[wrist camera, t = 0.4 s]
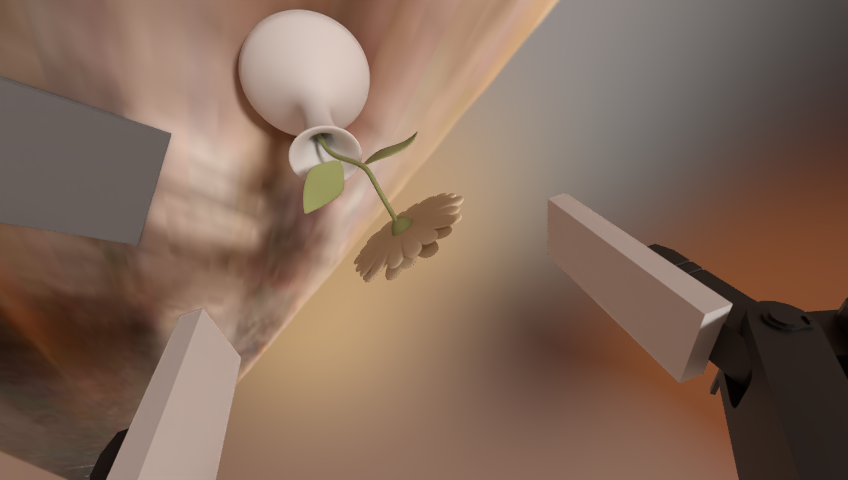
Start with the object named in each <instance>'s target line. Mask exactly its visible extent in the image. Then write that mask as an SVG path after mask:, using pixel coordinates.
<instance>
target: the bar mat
mask: <svg viewBox="0 0 848 480" xmlns="http://www.w3.org/2000/svg"><path fill="white" fill-rule="evenodd" d="M170 137H171V133H168V132H165V131H162V130H159V129H156V128H153V127H150V126H147V125H144V124H141V123H138V122H135V121H132V120H129V119H126V118H123V117H120V116H117V115H114V114H111V113H108V112H105V111H102V110H99V109H96V108H93V107H90V106H87V105H84V104H81V103H78V102H75V101H72V100H69V99H66V98H63V97H60V96H57V95H54V94H51V93H48V92H45V91H42V90H39V89H36V88H33V87H30V86H27V85H24V84H21V83H18V82H15V81H12V80H9V79H6V78H3V77H0V223H4V224H11V225H17V226H23V227H29V228H35V229H42V230H48V231H54V232H60V233H66V234H73V235H79V236H85V237H91V238H98V239H104V240H110V241H116V242H122V243H129V244H135V245H138V243H139V240H140V236H141V233H142V230H143V226H144V223H145V220H146V216H147V213H148V210H149V206H150V203H151V200H152V196H153V193H154V190H155V186H156V183H157V180H158V176H159V173H160V170H161V166H162V163H163V160H164V156H165V153H166V150H167V147H168V143H169V140H170Z"/></svg>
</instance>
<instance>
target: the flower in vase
mask: <svg viewBox="0 0 848 480" xmlns="http://www.w3.org/2000/svg"><path fill="white" fill-rule="evenodd" d="M238 65H239V77H240V82H241V85H242V88H243V91H244V93H245V95H246V97H247V99H248V101H249V102H250V104H251V105H252V106H253V108H254V109H255V110H256V111H257V112H258V113H259V114H260V115H261V116H262V117H263V118H264V119H265V120H266V121H267V122H268V123H270V124H271V125H272V126H274V127H276V128H277V129H279V130H281V131H283V132H286V133H288V134H291V135H295V136H297V137H296V138H295V140H294V141H293V143H292V144H291V147H290V150H289V163H290V166H291V168H292V170H293V171H294V172H295V174H296V175H297V176H298V177H300V178H301V179H302V180H304V181H305V183H304V190H303V205H304V212H305V214H307V213H309V212H312V211H314V210H316V209H318V208H320V207H322V206H324V205H326V204H328V203H329V202H331V201H333V200H334V199H336V198H337V197H338V196H339V195H340V194H341V193H342V191H343V189H344V181H346V180H347V179H349V178H350V177H351V176H352V175H353V174H354V173H355V172H356V171H357V169H358V168H359V167H360V168H362V169H363V170H364V171H365V172H366V173H367V175H368V176H369V178H370V180H371V182H372V184H373V185H374V187H375V189H376V191H377V193H378V195H379V196H380V198H381V200H382V202H383V203H384V205H385V207H386V209H387V210H388V212H389V213H390V216H391V217H392V219H393V220H392V221H390V222H388V223H387V224H386V225H385V226H384V227H383V228H382V229H381V230H380V231H379V232H377V233H376V234H374V235H373V236H372V237H371V238H370V239H369V240H368V242H367V245H366V246H365V247H364V248H363V249H362V250H361V252H360V254H359V255H358V257H357V258H356V260H355V261H354V264H357V263H359V264H358V265H357V268H356V272H358V271H361V272H360V276H361V277H362V276H363V279H364V280H365V282H370V281H371V280H372V279H373V278H375V276H376V275H377V274H378V273H379V272H380V271H381V270H382V269H383V268H384V267H385V265H386V264H387V265H388V266H387V269H386V279H387V280H392V279H394V278H396V277H397V275H398V274H399V273H400V272H401V270H402V268H404V269H406V268H409V267H411V266H412V265H414V263H415V262H416V259H417V255H418V256H420V257H423V258H428V257H431V256H433V255H434V254H435V253H436V252H437V251H438V244H437V243H436V241H435V240H436V239H441V238H444V237H446V236H448V235H449V234H450V233H451V231H452V228H451V227H450V226H452V225H454V224H456V223H457V222H459V221H460V220H461V218H462V215H460V214H456V213H457V212H458V211H459V210H460V207H459V205H460V204H462V202H463V200H464V197H462V196H459V197H456V194H454V193H453V194H447V193H442V194H439V195H437V196H435V197H434V196H433V197H429V198H427V199H425V200H424V201H422V202H421V203H420V204H415V205H413V206H412V207H410V208H409V209H408V210H407V211H406V212H402V213H400V214H399V215H397V216H396V215H395V213H394V211H393V209H392V208H391V206H390V204H389V202H388V201H387V199H386V197H385V195H384V194H383V192H382V190H381V188H380V187H379V185H378V183H377V181H376V179H375V177H374V176H373V174H372V172H371V171H370V169H369V168H368V167H367V166H366V165H365V164H369V163H372V162H374V161H377V160H380V159H382V158H385V157H388V156H391V155H393V154H396V153H398V152H400V151H402V150H403V149H405V148H407V147H408V146H409V145H410V144H411V143H412V142H413V140H414V139H415V137H416V135H417V132H418V131H417V132H416V133H415V134H414V135H413V136H412V137H410V138H409V139H407V140H406V141H404V142H402V143H399V144H396V145H393V146H390V147H387V148H384V149H381V150H379V151H378V152H376V153H374V154H373V155H372V156H371V157H370V158H369V159H368V160H367V161H366V162H365V163H364V164H363V163H361V159H362V151H361V147H360V145H359V143H358V141H357V140H356V139H355V137H354V136H353V135H351V134H350V133H349V132H347V131H346V130H344V128H345V127H347V126H348V125H349V124H351V123H352V122H353V121H354V120H355V119H356V118H357V116H358V115H359V113H360V112H361V110H362V108H363V107H364V104H365V102H366V99H367V96H368V92H369V87H370V72H369V66H368V62H367V59H366V56H365V54H364V52H363V50H362V48H361V46H360V44H359V43H358V41H357V40H356V39H355V37H354V36H353V35H352V34H351V33H350V32H349V31H348V30H347V29H346V28H345V27H344V26H342V25H341V24H340V23H338V22H337V21H335V20H333V19H332V18H330V17H328V16H325V15H323V14H320V13H317V12H313V11H308V10H287V11H282V12H279V13H276V14H273V15H271V16H269V17H267V18H265V19H263V20H262V21H261V22H259V23H258V24H257V25H256V26H255V27H254V28H253V29H252V30H251V31H250V33H249V34H248V36H247V37H246V39H245V41H244V43H243V45H242V48H241V51H240V55H239V63H238Z"/></svg>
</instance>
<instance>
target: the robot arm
mask: <svg viewBox="0 0 848 480" xmlns="http://www.w3.org/2000/svg"><path fill="white" fill-rule="evenodd" d="M547 232H548V235H547V236H548V237H547V255H549V257H551V258H552V259H553V260H554V261H555V262H556V263H557V264H558V265H559V266H560V267H561V268H562V269H563V270H564V271H565V272H566V273H567V274H568V275H569V276H570V277H571V278H572V279H573V280H574V281H575V282H576V283H577V284H578V285H579V286H580V287H581V288H582V289H583V290H584V291H585V292H586V293H588V295H589V296H591V297H592V298H593V299H594V300H595V301H596V302H597V303H598V304H599V305H600V306H601V307H602V308H603V309H604V310H605V311H606V312H607V313H608V314H609V315H610V316H611V317H612V318H613V319H614V320H615V321H616V322H617V323H618V324H619V325H621V327H622V328H623V329H624V330H625V331H626V332H628V333H629V334H630V335H631V336H632V337H633V338H634V339H635V340H636V341H637V342H638V343H639V344H640V345H641V346H642V347H643V348H644V349H645V350H646V351H647V352H648V353H649V354H650V355H651V356H652V357H653V358H654V359H655V360H656V361H657V362H658V363H659V364H660V365H661V366H662V367H664V369H665V370H666V371H668V372H669V373H670V374H671V375H672V376H673V377H674V378H675V379H676V380H677V381H678V382H679V383H681V382H684V381H686V380H689V379H691V378H694V377H696V376H699V375H701V374H703V373H704V370H705V368H706V366H707V363H708V361H709V360H710V361H711V362H712V363H714V364H715V365H716V366H717V367H718V368H719V370H718V373H717V375H716V377H715V379H714V381H713V383H712V386H711V390H710V394H714V395H715V394H716V392H717V390H718V388H719V386H720V391H721V396H722V401H723V406H724V410H725V415H726V420H727V425H728V430H729V434H730V439H731V444H732V449H733V453H734V459H735V463H736V468H737V473H738V477H739V480H848V298H847V299H846V300H845V301H844V303H843V304H842V306H841V307H840V309H839V310H828V311H813V312H804V311H803V310H801V309H798V308H796V307H794V306H791V305H788V304H785V303H780V302H776V301H760V302H757V301H755V300H753V299H751V298H750V297H748V296H747V295H745V294H743V293H742V292H740V291H739V290H737V289H735V288H734V287H732V286H731V285H729V284H727V283H726V282H724V281H722V280H721V279H719V278H718V277H716V276H715V275H713V274H711V273H710V272H708V271H706V270H703V269H702V267H700V266H698V265H697V264H695V263H694V262H690V261H689V259H687V258H685V257H684V256H682V255H681V254H679V253H678V252H676V251H674V250H672V249H669V248H666V247H663V246H660V245H657V244H653V245H650V246H647V247H646V246H645V245H643V244H642V243H640V242H639V241H637V240H636V239H634V238H633V237H631V236H630V235H628V234H627V233H625V232H624V231H622V230H621V229H619V228H618V227H616V226H615V225H613V224H612V223H610V222H609V221H607V220H606V219H604V218H603V217H601V216H600V215H598V214H596V213H595V212H594V211H592V210H590V209H589V208H587V207H586V206H584V205H583V204H581V203H580V202H578V201H577V200H575V199H574V198H572V197H571V196H569V195H568V194H566V193H564V194H561V195H557V196H554V197H551V198H548V231H547ZM240 361H241V357H240V356H239V355H238V353H237V352H236V351H235V349H234V348H233V347H232V345H231V344H230V343H229V342H228V340H227V339H226V338H225V336H224V335H223V334H222V332H221V331H220V330H219V328H218V327H217V326H216V325H215V323H214V322H213V321H212V319H211V318H210V317H209V315H208V314H207V313H206V311H205V310H204V309H203V308H202V309H199V310H195V311H192V312H189V313H186V314H183V315H180V317H179V319H178V321H177V323H176V325H175V328H174V330H173V332H172V334H171V337H170V339H169V341H168V343H167V345H166V348H165V350H164V352H163V354H162V357H161V359H160V361H159V363H158V365H157V368H156V370H155V372H154V374H153V377H152V379H151V381H150V383H149V386H148V388H147V390H146V392H145V394H144V397H143V399H142V401H141V403H140V406H139V408H138V410H137V412H136V414H135V417H134V419H133V421H132V423H131V426H130V428H129V429H126V430H123V431H120V432H118V433H117V434H116V435H115V437H114V438H113V439H112V440H111V442H110V443H109V444H108V445H107V447H106V448H105V449H104V450H103V452H102V453H101V454H100V456H99V458H98V460H97V462H96V464H95V467H94V469H93V471H92V473H91V475H90V480H216V476H217V471H218V466H219V461H220V456H221V452H222V447H223V442H224V438H225V433H226V427H227V423H228V418H229V414H230V409H231V404H232V399H233V395H234V390H235V385H236V380H237V375H238V371H239V366H240Z"/></svg>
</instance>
